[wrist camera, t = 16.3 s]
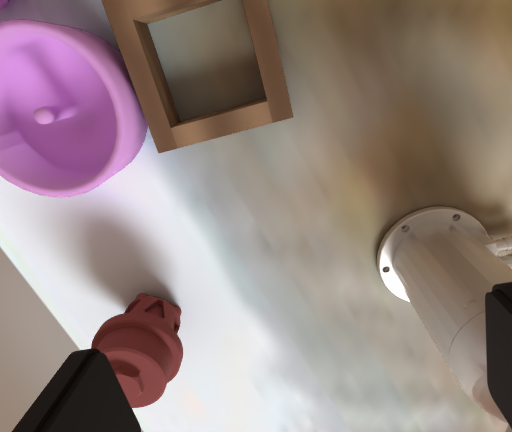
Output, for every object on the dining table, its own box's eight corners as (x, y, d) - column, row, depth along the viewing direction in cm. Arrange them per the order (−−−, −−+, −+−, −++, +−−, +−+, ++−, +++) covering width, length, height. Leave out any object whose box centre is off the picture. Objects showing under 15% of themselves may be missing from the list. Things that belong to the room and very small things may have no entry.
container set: (175, 141, 39) (133, 176, 27) (63, 199, 42) (-20, 253, 30) (24, -123, 31) (-134, -242, 19) (-102, -28, 34) (-307, -79, 22)
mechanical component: (154, 352, 51) (102, 303, 48) (209, 319, 48) (159, 265, 45) (120, 435, 39) (50, 377, 36) (191, 398, 37) (122, 332, 34)
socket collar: (257, -39, 33) (255, -52, 29) (291, 112, 38) (293, 117, 34) (119, 7, 34) (101, 0, 31) (168, 145, 39) (158, 153, 36)
